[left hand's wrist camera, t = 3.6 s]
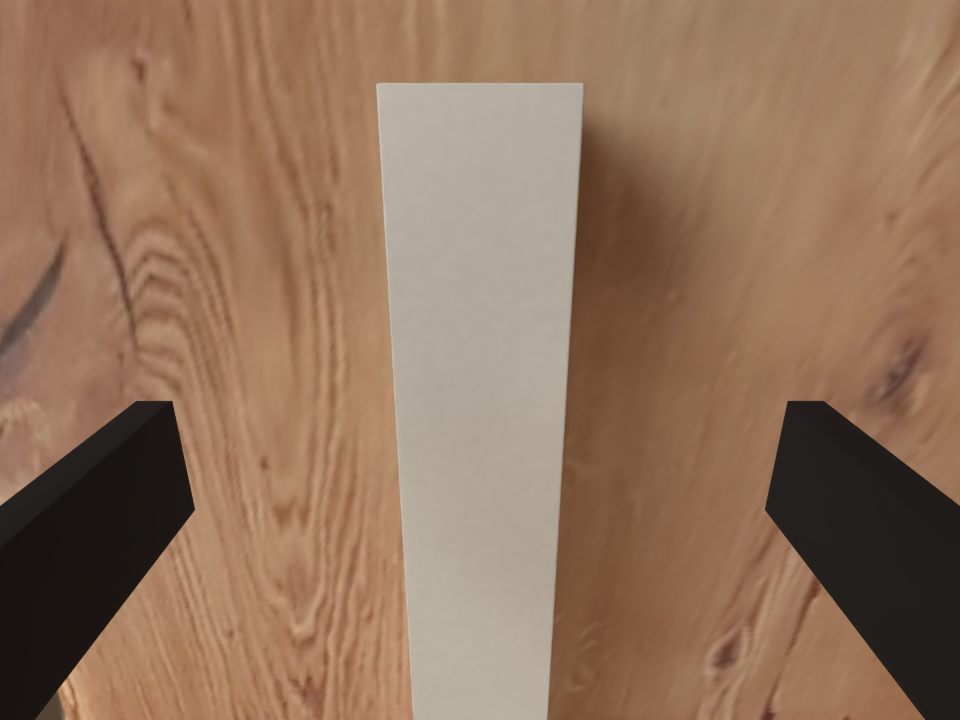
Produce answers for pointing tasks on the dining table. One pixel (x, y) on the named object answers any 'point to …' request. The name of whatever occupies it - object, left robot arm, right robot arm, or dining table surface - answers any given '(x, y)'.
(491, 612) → the beam
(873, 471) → the left robot arm
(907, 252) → the dining table surface
